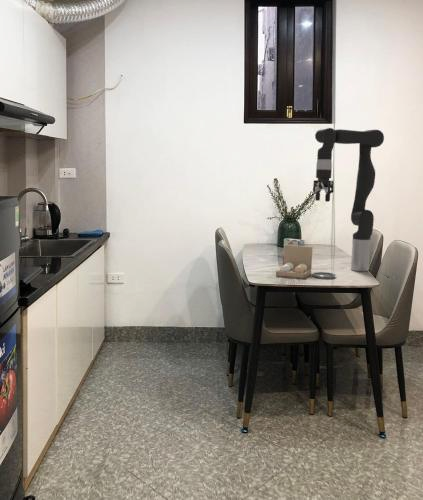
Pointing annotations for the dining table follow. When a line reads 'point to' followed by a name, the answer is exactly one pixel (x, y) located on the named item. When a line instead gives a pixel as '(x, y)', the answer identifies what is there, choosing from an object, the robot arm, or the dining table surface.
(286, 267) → the white egg
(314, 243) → the dining table surface
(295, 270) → the brown egg
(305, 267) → the white egg
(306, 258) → the egg carton
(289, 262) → the white egg
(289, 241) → the candy bar box
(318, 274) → the slate saucer
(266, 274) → the dining table surface
